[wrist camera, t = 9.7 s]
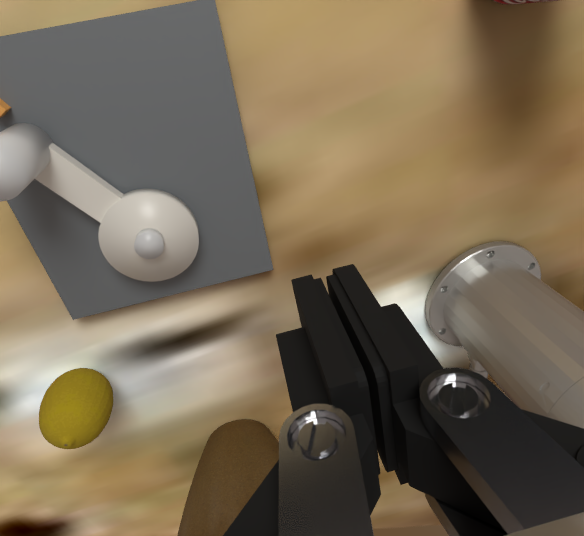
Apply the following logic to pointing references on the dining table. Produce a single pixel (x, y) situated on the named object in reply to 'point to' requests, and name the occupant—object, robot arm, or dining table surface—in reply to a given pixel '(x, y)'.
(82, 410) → the lemon
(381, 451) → the robot arm
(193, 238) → the white lever handle
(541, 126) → the dining table surface
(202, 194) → the stand board
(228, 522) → the plant pot
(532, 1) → the soda can
